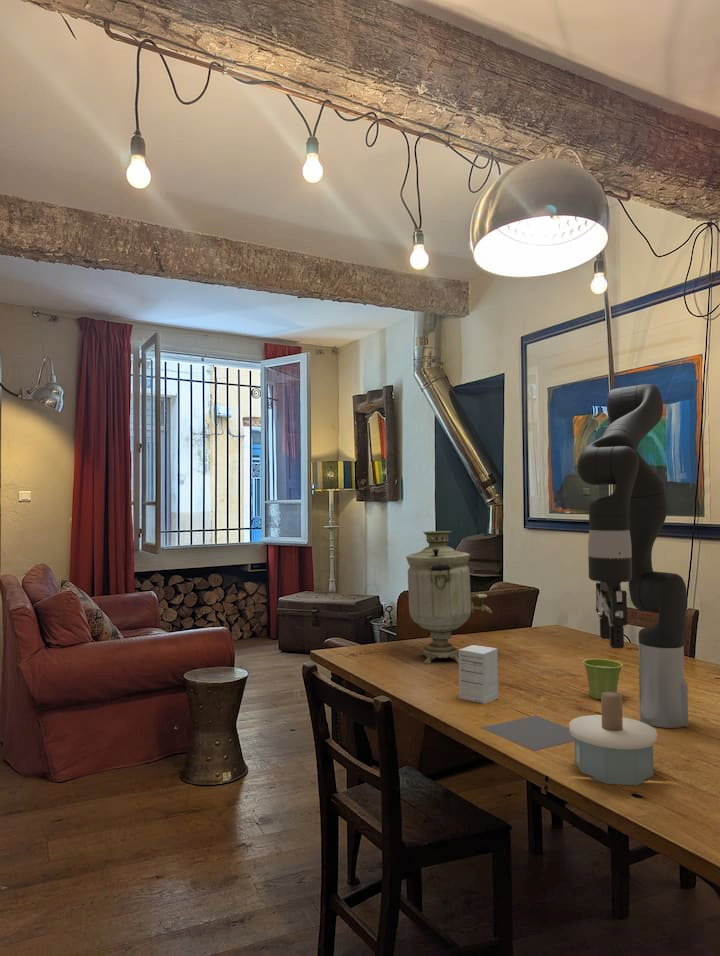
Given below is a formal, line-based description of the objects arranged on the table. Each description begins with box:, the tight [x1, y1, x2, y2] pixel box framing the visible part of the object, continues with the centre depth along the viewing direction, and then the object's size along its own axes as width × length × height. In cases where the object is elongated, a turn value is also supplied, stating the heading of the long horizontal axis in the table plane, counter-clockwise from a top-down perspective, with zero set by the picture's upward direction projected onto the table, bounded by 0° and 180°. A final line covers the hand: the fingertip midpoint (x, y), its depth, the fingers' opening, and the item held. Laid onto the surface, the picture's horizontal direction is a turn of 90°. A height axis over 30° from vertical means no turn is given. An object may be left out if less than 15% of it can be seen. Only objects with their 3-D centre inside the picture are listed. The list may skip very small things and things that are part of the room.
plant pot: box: [582, 658, 624, 700], centre depth 170 cm, size 9×9×9 cm
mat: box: [480, 715, 575, 752], centre depth 143 cm, size 16×16×1 cm
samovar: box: [405, 530, 493, 664], centre depth 212 cm, size 30×26×40 cm
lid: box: [568, 692, 658, 749], centre depth 124 cm, size 15×15×7 cm
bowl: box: [574, 738, 654, 787], centre depth 124 cm, size 13×13×6 cm
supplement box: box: [458, 644, 499, 705], centre depth 169 cm, size 7×7×13 cm
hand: (611, 643), depth 124 cm, fingers open, 8 cm apart
